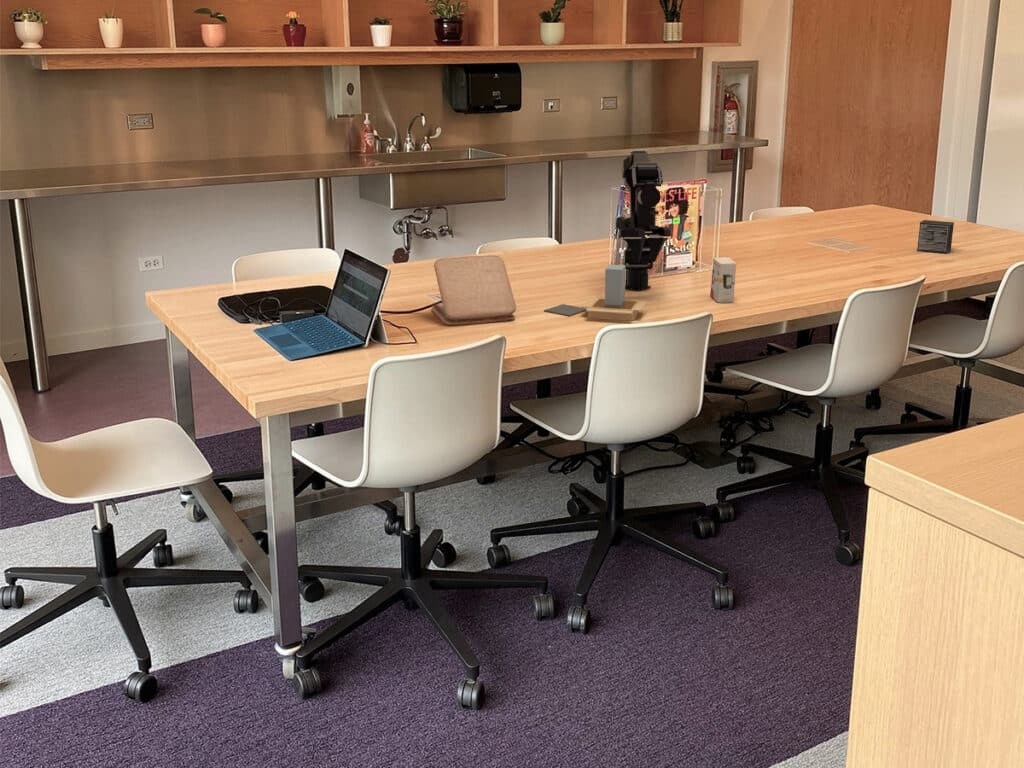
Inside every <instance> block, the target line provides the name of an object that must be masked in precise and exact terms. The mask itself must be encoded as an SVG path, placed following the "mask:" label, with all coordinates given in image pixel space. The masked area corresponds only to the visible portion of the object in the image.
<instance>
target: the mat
mask: <svg viewBox="0 0 1024 768" xmlns="http://www.w3.org/2000/svg"><path fill="white" fill-rule="evenodd" d="M586 309H587V308H582V306H575V305H572V304H571V305H569V304H565V303H562V304H559V305H557V306H553V307H550V308H546V309H544V310H543V312H545V313H549V314H550V313H551V314H554V315H560V316H565V317H572V316H575V315H578V314H581V313H584V312H587V311H586Z"/></svg>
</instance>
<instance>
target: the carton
mask: <svg viewBox="0 0 1024 768" xmlns="http://www.w3.org/2000/svg"><path fill="white" fill-rule="evenodd" d="M647 304H648V301H641V300H637V299H636V300H635V299H634V300H633V299H625V309H613V308H605V297H604V298H602V297H596V298H595V297H594V298H592V297H589V298H588V299H587V300H586V301H585V303H583V305H581V307H582V308H587V309H586V311H585V312H587V318H589V319H599V320H600V319H602V320H613V321H614V320H617V321H630V322H631V321H632V322H633V321H634V320H635V319H636V317H637V316H638V314H639V313H640V312H642V311H643V310H644V308H645V306H646V305H647Z"/></svg>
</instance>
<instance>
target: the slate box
mask: <svg viewBox="0 0 1024 768" xmlns="http://www.w3.org/2000/svg"><path fill="white" fill-rule="evenodd" d="M604 269H605V273H604V275H605V276H604V278H605V279H604V298H605V308H613V309H625V300H626V288H625V285H626V265H623V264H608V266H607V267H606V268H604Z"/></svg>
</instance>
